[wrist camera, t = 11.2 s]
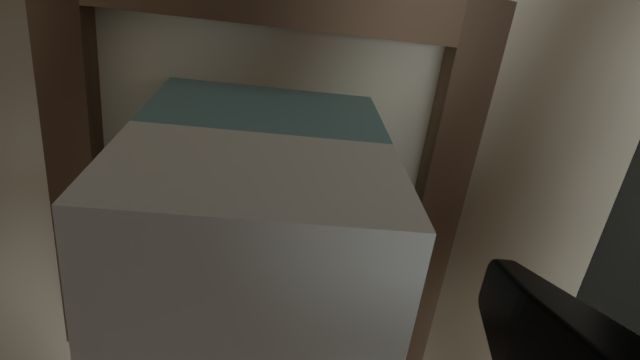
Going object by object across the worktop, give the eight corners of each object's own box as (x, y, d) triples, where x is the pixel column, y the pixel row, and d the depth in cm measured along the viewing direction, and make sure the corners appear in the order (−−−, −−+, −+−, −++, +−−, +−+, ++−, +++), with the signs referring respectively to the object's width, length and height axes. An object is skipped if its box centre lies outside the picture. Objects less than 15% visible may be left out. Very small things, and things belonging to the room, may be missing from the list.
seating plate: (741, -203, 10) (824, -230, 9) (504, 420, 18) (525, 468, 16) (-223, -362, 9) (-343, -433, 7) (-36, 395, 16) (-72, 445, 15)
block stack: (370, 96, 12) (437, 233, 6) (344, 261, 13) (377, 476, 8) (170, 77, 11) (51, 204, 6) (172, 249, 13) (84, 468, 8)
